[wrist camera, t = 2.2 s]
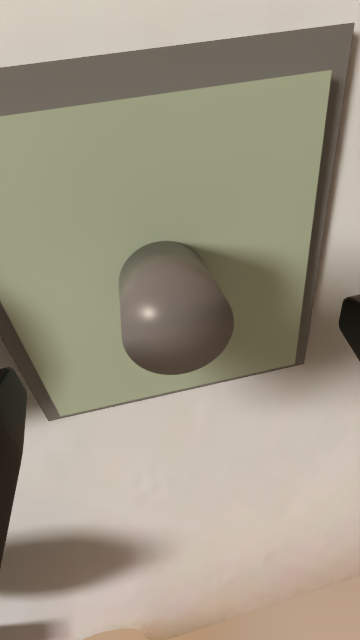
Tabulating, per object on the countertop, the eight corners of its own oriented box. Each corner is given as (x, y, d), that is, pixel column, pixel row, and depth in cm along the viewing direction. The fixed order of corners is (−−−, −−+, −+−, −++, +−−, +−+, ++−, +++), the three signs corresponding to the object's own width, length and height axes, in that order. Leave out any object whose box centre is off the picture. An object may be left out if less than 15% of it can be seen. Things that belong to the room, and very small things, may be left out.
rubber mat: (341, 27, 9) (354, 22, 9) (298, 356, 17) (303, 363, 16) (-126, 87, 8) (-141, 85, 8) (50, 411, 16) (48, 421, 15)
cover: (316, 72, 9) (420, 54, 6) (287, 353, 16) (331, 414, 12) (-74, 127, 8) (-184, 138, 5) (62, 402, 15) (50, 482, 12)
